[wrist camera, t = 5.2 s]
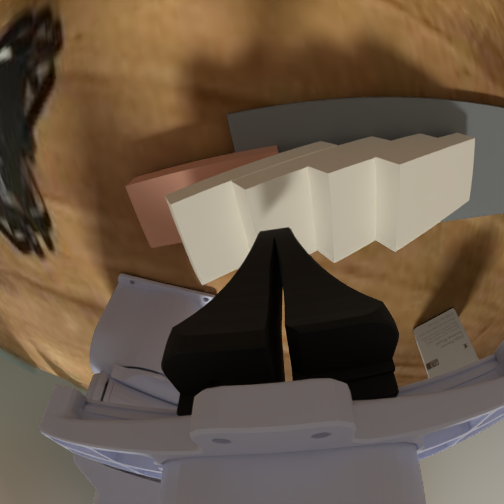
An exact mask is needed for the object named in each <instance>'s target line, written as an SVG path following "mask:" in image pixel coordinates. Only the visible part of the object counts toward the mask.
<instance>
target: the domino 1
mask: <svg viewBox="0 0 504 504" xmlns="http://www.w3.org/2000/svg"><path fill="white" fill-rule="evenodd" d="M335 146H338V145H335V144H331V143H327V142H323V141H319V142H315V143H312V144H308V145H305V146H302V147H298V148H295V149H292V150H288V151H285V152H282V153H279V154H276V155H273V156H269V157H266V158H263V159H260V160H257V161H254V162H251V163H249V164H246V165H243V166H240V167H237V168H234V169H232V170H229V171H226V172H223V173H221V174H218V175H215V176H213V177H210V178H207V179H205V180H202V181H199V182H197V183H194V184H192V185H189V186H187V187H184V188H182V189H179V190H177V191H175V192H172V193H170V194H167V195H165V198H166V200H167V203H168V206H169V209H170V211H171V214H172V217H173V219H174V222H175V224H176V227H177V230H178V232H179V235H180V237H181V240H182V242H183V245H184V247H185V250H186V252H187V255H188V257H189V260H190V262H191V265H192V267H193V270H194V272H195V274H196V275H197V277H198V279H199V281H200V282H201V284H202V285H204V284H206V283H208V282H210V281H213V280H215V279H217V278H219V277H221V276H223V275H225V274H227V273H230V272H232V271H234V270H236V269H238V268H240V266H241V265H242V263H243V262H244V260H245V259H246V257H247V255H248V253H249V252H250V251H249V247H248V244H247V240H246V236H245V232H244V228H243V224H242V221H241V217H240V213H239V209H238V205H237V201H236V198H235V194H234V190H233V186H232V182H231V181H234V180H236V179H239V178H242V177H244V176H247V175H250V174H253V173H255V172H258V171H261V170H264V169H267V168H269V167H272V166H275V165H278V164H281V163H284V162H287V161H290V160H293V159H296V158H299V157H302V156H305V155H309V154H312V153H315V152H318V151H321V150H325V149H328V148H331V147H335Z"/></svg>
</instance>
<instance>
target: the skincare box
mask: <svg viewBox="0 0 504 504" xmlns="http://www.w3.org/2000/svg"><path fill="white" fill-rule="evenodd" d="M413 332H414V335H415V338H416V341H417V345H418V348H419V351H420V353H421V356H422V359H423V362H424V365H425V368H426V371H427V374H428V377H429V378H432V377H435V376H438V375H441V374H444V373H447V372H450V371H453V370H456V369H458V368H461V367H464V366H466V365H469V364H471V363H474V362H476V361H479V360H478V357H477V355H476V353H475V350H474V348H473V346H472V344H471V341H470V339H469V337H468V335H467V333H466V331H465V329H464V327H463V325H462V323H461V321H460V319H459V317H458V315H457V313H456V311H455V309H454V308H452V309H450V310H448V311H446V312H445V313H443V314H441V315H439V316H437V317H435V318H433V319H431V320H430V321H428V322H426V323H424V324H422V325H420V326H418V327H416V328H415V329H414V330H413Z"/></svg>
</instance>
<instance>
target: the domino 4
mask: <svg viewBox="0 0 504 504" xmlns="http://www.w3.org/2000/svg"><path fill="white" fill-rule="evenodd" d="M474 149H475V138H473V137H470V136H467V135H464V134H460V133H454V134H450V135H446V136H443V137H439V138H436V139H432V140H429V141H425V142H422V143H418V144H415V145H412V146H408V147H405V148H402V149H398V150H395V151H392V152H389V153H385V154H382V155H379V156H376V157H375V167H376V231H375V240H376V241H378V242H380V243H381V244H383V245H384V246H386V247H388V248H389V249H391V250H392V251H394V252H396V251H397V250H399V249H400V248H402V247H404V246H405V245H407V244H408V243H410V242H411V241H413V240H414V239H416V238H417V237H418V236H420V235H421V234H423V233H424V232H426V231H427V230H429V229H430V228H432V227H433V226H434V225H436V224H437V223H439V222H440V221H442V220H443V219H444V218H446V217H447V216H449V215H450V214H451V213H453V212H454V211H455V210H457V209H458V208H459V207H461V206H462V205H464V204H465V203H466V202H468V201H469V198H470V191H471V183H472V174H473V164H474Z"/></svg>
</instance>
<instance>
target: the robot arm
mask: <svg viewBox="0 0 504 504" xmlns="http://www.w3.org/2000/svg"><path fill="white" fill-rule="evenodd" d="M133 281H134V282H133ZM282 286H283V291H284V303H285V328H286V335H287V341H288V347H289V353H290V360H291V366H292V377H293V381H288V382H285V373H284V360H283V347H282ZM206 298H208V299H206ZM398 339H399V332H398V329H397V326H396V323H395V321H394V319H393V317H392V316H391V314H390V312H389V311H388V309H387V308H386V306H385V305H384V303H383V302H382V301H379V300H377V299H374V298H372V297H369V296H367V295H364V294H362V293H360V292H358V291H356V290H354V289H352V288H350V287H349V286H347V285H346V284H344V283H342V282H341V281H339V280H338V279H336V278H335V277H333V276H332V275H331V274H329V273H328V272H327V271H326V270H325V269H323V268H322V267H321V266H320V265H319V264H318V263H317V262H316V261H315V260H314V259H313V258H312V257H311V256H310V255H309V254H308V253H307V251H306V250H305V249H304V248H303V247H302V245H301V244H300V243H299V241H298V240H297V239H296V237H295V236H294V234H293V232H292V230H291V229H290V228H289V227H286V228H279V229H272V230H265V231H260V232H259V233H258V235H257V238H256V240H255V242H254V244H253V246H252V248H251V250H250V252H249V253H248V255H247V257H246V259H245V260H244V262H243V263H242V265H241V266H240V268H239V269H238V271H237V272H236V274H235V275H234V276H233V278H232V279H231V280H230V281H229V282H228V284H227V285H226V286H225V287H224V288H223V289H222V290H221V291H220V292H219V293H218V294H217V295H216V296H215V295H213V294H209V293H204V292H200V291H195V290H190V289H186V288H182V287H177V286H173V285H168V284H164V283H160V282H156V281H151V280H147V279H143V278H139V277H135V276H131V275H127V274H123V273H121V274H120V275H119V276H118V285H117V287H116V288H115V290H114V292H113V294H112V296H111V298H110V300H109V302H108V304H107V306H106V308H105V310H104V312H103V314H102V316H101V318H100V320H99V322H98V324H97V326H96V329H95V331H94V334H93V338H92V342H91V348H90V365H91V369H92V371H93V373H94V375H93V377H92V380H91V382H90V385H89V388H88V390H87V393H86V396H84V395H83V394H82V393H81V392H80V391H78V390H77V389H75V388H72V387H68V386H63V385H59V384H58V385H57V384H56V385H55V387H54V389H53V392H52V394H51V397H50V399H49V402H48V405H47V407H46V410H45V413H44V415H43V418H42V421H41V424H40V427H39V432H40V433H42V434H43V435H45V436H47V437H48V438H50V439H51V440H53V441H54V442H56V443H58V444H59V445H61V446H63V447H64V448H66V449H68V450H70V451H71V453H72V454H73V461H74V462H75V464H76V465H77V466H78V468H79V469H80V471H81V472H82V473H83V474H84V475H85V477H86V478H87V479H88V480H89V481H90V483H91V484H92V485H93V486H94V487H95V488H96V490H95V494H94V498H93V502H92V504H426V502H425V494H424V487H423V481H422V476H421V470H420V464H419V460H421V459H424V458H426V457H429V456H431V455H433V454H436V453H438V452H441V451H443V450H445V449H447V448H449V447H452V446H454V445H456V444H458V443H460V442H462V441H464V440H466V439H468V438H470V437H472V436H474V435H476V434H477V433H479V432H481V431H483V430H485V429H486V428H488V427H490V426H492V425H493V424H495V423H497V422H498V421H500V420H502V419H504V341H503V342H502V343H501V344H500V345H499V346H498V348H497V349H496V351H495V354H493V355H490V356H488V357H486V358H483V359H481V360H479V361H476V362H474V363H471V364H469V365H466V366H464V367H461V368H458V369H456V370H453V371H450V372H447V373H444V374H441V375H438V376H435V377H432V378H429V379H426V380H423V381H419V382H416V383H413V384H409V385H406V386H402V387H398V386H397V383H396V379H395V376H394V371H395V365H394V362H393V359H392V358H393V355H394V352H395V349H396V346H397V343H398Z"/></svg>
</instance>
